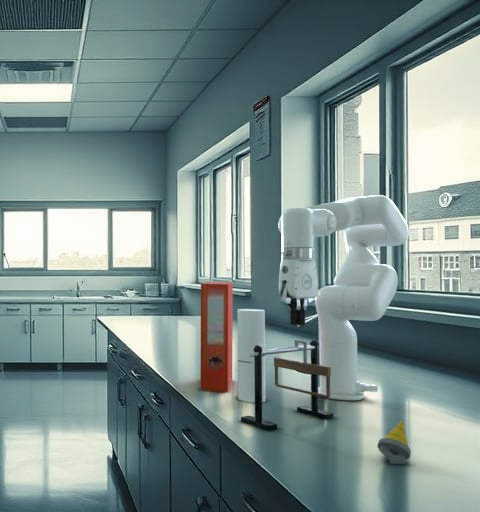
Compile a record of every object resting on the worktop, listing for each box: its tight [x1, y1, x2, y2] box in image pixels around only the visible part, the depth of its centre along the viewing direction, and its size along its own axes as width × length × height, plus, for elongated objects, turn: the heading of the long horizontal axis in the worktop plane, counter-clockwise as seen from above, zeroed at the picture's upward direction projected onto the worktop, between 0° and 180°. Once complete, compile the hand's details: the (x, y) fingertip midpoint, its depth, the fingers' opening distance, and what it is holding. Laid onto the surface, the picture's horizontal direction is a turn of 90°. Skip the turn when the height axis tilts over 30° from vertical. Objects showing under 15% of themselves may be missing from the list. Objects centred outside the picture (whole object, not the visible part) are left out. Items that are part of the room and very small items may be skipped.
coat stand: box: [240, 339, 334, 432], centre depth 133 cm, size 23×8×19 cm, turn 117°
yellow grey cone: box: [377, 420, 412, 465], centre depth 106 cm, size 5×5×10 cm
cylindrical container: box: [236, 308, 266, 403], centre depth 154 cm, size 7×7×25 cm
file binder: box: [199, 281, 234, 393], centre depth 171 cm, size 8×17×32 cm, turn 156°
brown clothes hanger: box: [273, 339, 331, 399], centre depth 136 cm, size 1×15×13 cm, turn 27°
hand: (297, 324), depth 144 cm, fingers closed
